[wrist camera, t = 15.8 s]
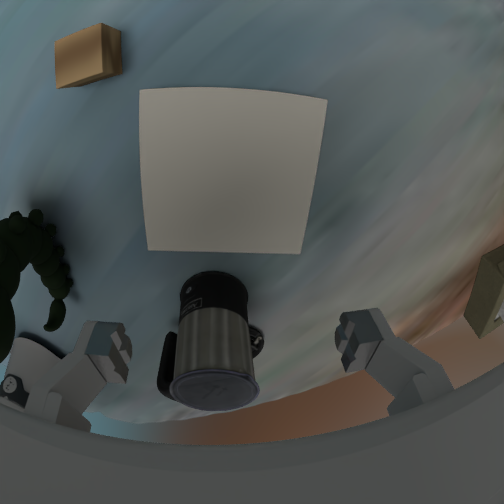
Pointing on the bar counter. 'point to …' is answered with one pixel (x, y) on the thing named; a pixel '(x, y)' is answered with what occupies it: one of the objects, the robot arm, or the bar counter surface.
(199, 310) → the milk frother
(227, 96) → the cream base
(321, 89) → the bar counter surface
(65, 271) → the toy figurine
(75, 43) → the block
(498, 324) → the tissue box
